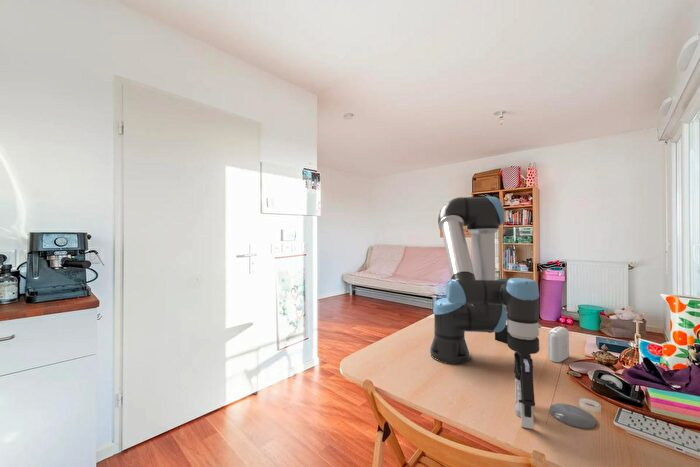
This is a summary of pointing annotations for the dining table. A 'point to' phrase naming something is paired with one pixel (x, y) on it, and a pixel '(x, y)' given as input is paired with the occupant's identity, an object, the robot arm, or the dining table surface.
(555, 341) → the white rounded block
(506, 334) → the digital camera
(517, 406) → the rook chess piece
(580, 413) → the grey disc
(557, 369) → the dining table surface
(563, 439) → the dining table surface
